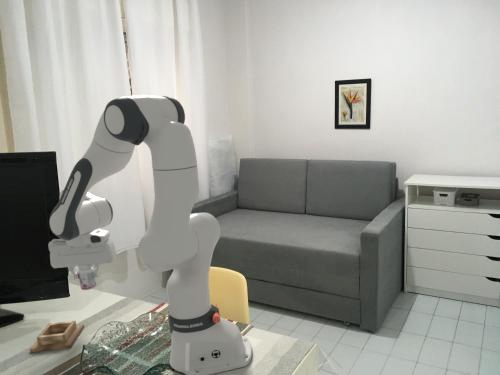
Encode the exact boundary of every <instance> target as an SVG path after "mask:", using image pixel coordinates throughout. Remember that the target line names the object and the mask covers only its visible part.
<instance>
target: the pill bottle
mask: <svg viewBox="0 0 500 375" xmlns="http://www.w3.org/2000/svg"><path fill="white" fill-rule="evenodd" d="M77 267H78V271H77V272H78V274H79V285H80V288H81V290H82V291H89V290H93V289H94V288H95V289H96V287H97V282H96V277H93V272H94V271H95V268H94V267H93V265H80V266H77Z"/></svg>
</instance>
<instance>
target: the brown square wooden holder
mask: <svg viewBox="0 0 500 375" xmlns="http://www.w3.org/2000/svg"><path fill="white" fill-rule="evenodd" d="M84 329H85V324H77V322H76V320H69V321H62V322H61V321H60V322H49V323H47V324H46V326H45V327H44V329H42V330H41V332H40V333H39V334H38V335H37V337H36V339H37V340H36V341H35V342H34V343H33V344H32V346H31V347H30V348H29V353H36V352H44V351H45V352H47V351H54V350H63V349H71V348H72V347H73V346H74V344H75V343H76V341H77V340H78V338H79V336H80V335H81V334H82V332H83V330H84Z"/></svg>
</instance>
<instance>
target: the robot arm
mask: <svg viewBox="0 0 500 375" xmlns="http://www.w3.org/2000/svg"><path fill="white" fill-rule="evenodd" d="M185 120H186V113H185V109H184V106H183V105H182V104H181V103H180V101H178V100H177V99H175V98H173V97H170V96H167V95H163V96H162V95H161V96H159V95H158V96H157V95H147V94H142V95H140V94H139V95H132V96H120V97H117V98H114V99H112V100H110V101H109V102H107V104H106V106H105V107H104V110H103V111H102V114H101V115H100V118H99V119H98V122H97V125H96V127H95V130H94V134H93V137H92V140H91V143H90V145H89V147H88V148H87V149H86V151H85V152H84V155H83V156H82V157H81V158H80V159H79V160H78V161H77V162H76V163H75V165H74V166H73V168H72V169H71V170H72V171H71V172H70V175H69V176H68V180H67V181H66V184H65V186H64V189H63V190H61V191H60V193H59V199H58V203H57V204H56V205H55V206H54V208H53V209H52V211H51V213H50V215H49V219H48V224H49V225H48V226H49V230H50V231H51V233H52V234H53V235H55V236H56V237H57V238H53V239H52V240H51V241H49V242H48V245H47V246H48V251H49V252H50V253H49V259H50V266H51V267H52V268H53V269H58V268H59V269H60V268H62V269H63V268H67V269H68V271H70V273H71V274H72V275H73V279H74V280H78V279H79V274H78V271H77V270H76V267H78V266H80V265H92V266H93V265H94V267H95V268H96V269H94V272H93V277H95V278H99V276H100V269H101V267H102V264H104V265H105V264H112V263H114V261H115V260H117V250H116V246H115V243H114V241H113V240H112V238H110V236H111V232H110V231H109V230H107V229H103V228H105V227H107V226H109V225H110V224H111V222H112V221H113V217H114V210H113V206H112V205H111V203H110V202H109V200H108V199H106V198H104V197H99V196H97V195H94V194H92V193H91V192H89V191H90V190H91V189H92V187H94V186H95V185H96V184H98V183H100V182H101V181H102V180H105V179H107V178H109V177H110V176H113V175H115V174H118V173H120V172H121V171H123V170H124V169H125V168H127V167H126V166H127V165H128V164H129V162H130V161H131V159H132V156H133V154H134V150H135V147H136V146H139V145H141V144H142V143H144V144H146V145H147V147H148V148H149V151H150V154H151V155H150V156H151V164H152V165H151V166H152V179H153V189H154V192H153V193H154V203H153V204H154V205H153V209H152V215H151V218H150V221H149V224H148V227H147V228H146V231H145V233H144V234H143V236H142V237H141V239H140V240H139V243H138V246H137V251H138V252H137V253H138V254H137V255H138V258H139V260H140V262H141V263H142V265H143V266H144V267H145V268H146V269H147V270H149V271H150V272H153V273H155V274H156V273H162V272H167V271H171V270H173V271H172V272H171V275H170V276H169V278H168V280H167V283H166V287H165V288H166V297H167V303H168V304H167V305H168V310H169V311H168V313H167V322H168V323H167V324H168V328H169V333H170V335H171V344H170V345H171V346H170V347H171V349H170V356H169V365H170V367H171V368H172V369H174V370H175V371H178V372H179V373H181V374H182V373H183V374H184V375H214V374H215V375H216V374H218V373H223V372H226V371H231V370H232V371H233V370H236V369H239V368H244V367H247V366H248V365H249V363H250V362H251V360H252V356H253V350H252V344H251V342H250V340H249V339H248V338H247V337H246V336H245V335H242V333H241V331H240V328H239V327H238V325H237V324H236V323H234V322H233V321H230V320H228V319H226V318H223V317H222V316H221V314H220V308H218V306H219V305H218V304H217V303H216V304H215V305H213V303H211V298H210V297H211V295H210V285H209V283H210V282H209V281H210V280H209V278H210V269H211V264H212V258H213V253H214V250H215V249H216V245H217V243H218V242H219V241H220V238H221V233H222V232H221V226H220V223H219V221H218V219H217V218H216V217H215V216H214V215H213V214H211V213H209V212H195V213H192V210H193V208H194V205H195V203H197V201H198V200H199V197H200V184H199V182H200V181H199V174H198V173H199V171H198V161H197V160H198V159H197V153H196V152H197V151H196V147H195V143H194V139H193V135H192V133H191V132H192V131H191V130H190V128H189V127H188V126H187V125H186V124H185Z"/></svg>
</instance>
